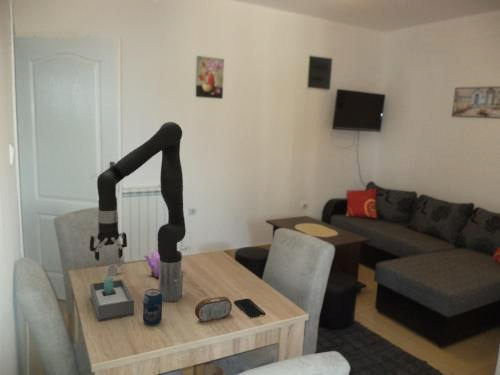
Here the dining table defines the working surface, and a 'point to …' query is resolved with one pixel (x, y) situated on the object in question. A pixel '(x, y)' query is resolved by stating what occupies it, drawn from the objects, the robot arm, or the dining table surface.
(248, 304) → the phone
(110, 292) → the peg
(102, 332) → the dining table surface
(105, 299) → the bin
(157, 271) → the teapot
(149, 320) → the soda can
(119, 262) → the lighter
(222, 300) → the bluetooth speaker
